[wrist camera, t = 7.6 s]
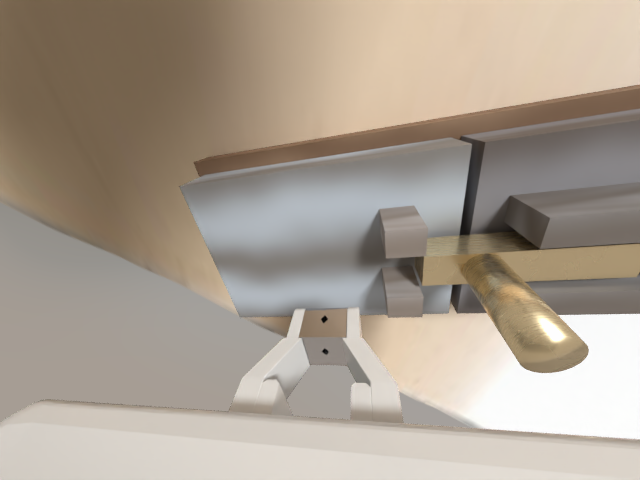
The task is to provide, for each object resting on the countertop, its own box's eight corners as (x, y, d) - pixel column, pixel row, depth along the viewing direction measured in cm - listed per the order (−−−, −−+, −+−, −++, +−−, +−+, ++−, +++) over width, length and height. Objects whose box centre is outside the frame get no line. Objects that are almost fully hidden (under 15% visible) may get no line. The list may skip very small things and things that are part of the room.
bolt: (415, 238, 14) (461, 336, 8) (614, 223, 12) (868, 336, 6) (414, 265, 15) (454, 370, 9) (599, 255, 13) (806, 379, 7)
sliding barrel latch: (208, 157, 19) (124, 185, 12) (720, 71, 13) (1147, 29, 6) (258, 288, 26) (222, 355, 19) (610, 272, 19) (751, 363, 13)
